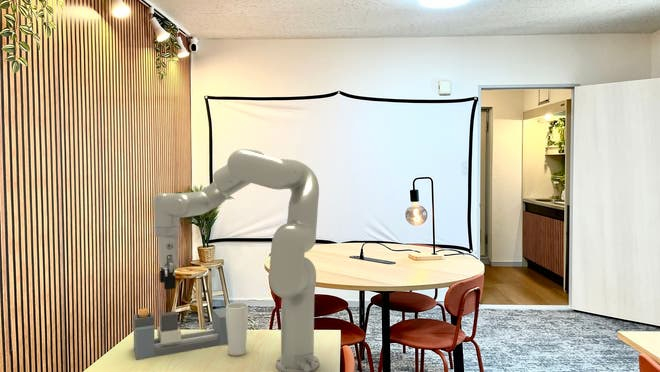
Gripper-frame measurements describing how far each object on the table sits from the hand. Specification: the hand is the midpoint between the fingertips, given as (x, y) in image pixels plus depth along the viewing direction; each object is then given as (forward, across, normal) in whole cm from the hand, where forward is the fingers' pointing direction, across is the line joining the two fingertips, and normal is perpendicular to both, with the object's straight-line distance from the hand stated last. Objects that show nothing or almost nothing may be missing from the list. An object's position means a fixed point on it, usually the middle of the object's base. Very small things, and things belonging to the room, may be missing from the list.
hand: (167, 285), depth 143 cm
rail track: (+20, 0, -5) cm, 21 cm away
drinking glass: (+20, -14, -18) cm, 31 cm away
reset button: (+10, 0, +7) cm, 12 cm away
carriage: (+17, 0, 0) cm, 17 cm away
